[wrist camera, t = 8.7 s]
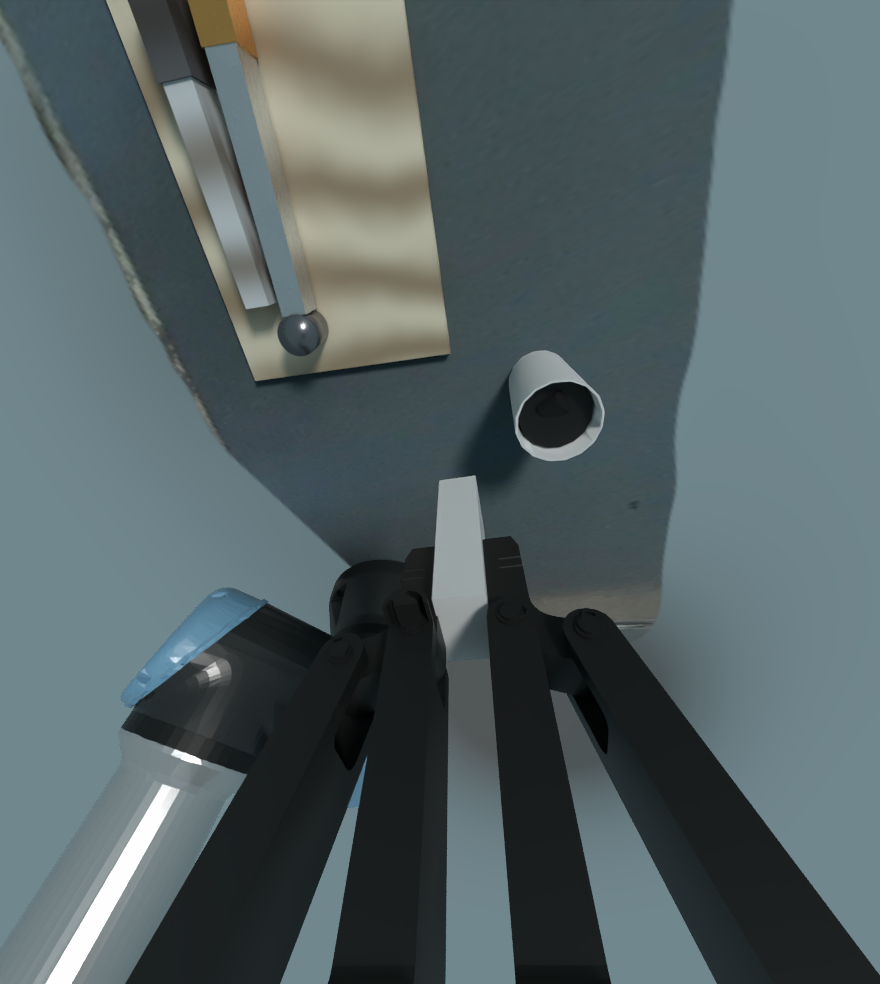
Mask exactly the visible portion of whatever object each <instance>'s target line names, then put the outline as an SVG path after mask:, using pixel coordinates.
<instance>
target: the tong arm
mask: <svg viewBox="0 0 880 984" xmlns="http://www.w3.org/2000/svg"><path fill="white" fill-rule="evenodd" d="M188 3H189V7H190V10H191V13H192V17H193V20H194V24H195V27H196V31H197V34H198V37H199V41H200V44H201V47H202V48H203V49H205V51H206V54H207V58H208V61H209V65H210V68H211V72H212V75H213V78H214V82H215V85H216V89H217V92H218V96H219V99H220V103H221V106H222V110H223V113H224V117H225V120H226V123H227V127H228V130H229V134H230V137H231V141H232V144H233V148H234V151H235V155H236V158H237V162H238V165H239V168H240V172H241V175H242V179H243V182H244V186H245V189H246V193H247V196H248V200H249V203H250V207H251V210H252V213H253V217H254V220H255V224H256V227H257V231H258V234H259V238H260V241H261V245H262V248H263V252H264V255H265V258H266V262H267V265H268V269H269V272H270V276H271V279H272V283H273V286H274V290H275V293H276V297H277V300H278V303H279V307H280V310H281V314H282V317H285V318H284V319H283V320H282V321H281V322H280V323H279V326H278V330H277V334H278V339H279V342H280V344H281V345H282V347H283V348H284V349H285V350H286V351H287V352H289V353H290V354H292V355H295V356H306V355H309V354H310V353H312V352H313V351H314V350H315V349H316V348H318V347H319V346H320V345H321V344H322V343H324V342H325V340H326V339H327V337H328V333H329V328H328V324H327V321H326V319H325V318H324V316H323V315H322V314H321V313H319V312H318V311H316V310H315V309H317V306H316V302H315V298H314V294H313V289H312V285H311V281H310V277H309V273H308V269H307V265H306V261H305V257H304V253H303V249H302V244H301V240H300V236H299V232H298V228H297V224H296V220H295V216H294V212H293V208H292V204H291V199H290V195H289V191H288V187H287V183H286V179H285V175H284V171H283V167H282V163H281V159H280V154H279V150H278V146H277V142H276V138H275V134H274V130H273V126H272V122H271V118H270V114H269V109H268V105H267V101H266V97H265V93H264V89H263V85H262V81H261V77H260V73H259V68H258V64H257V60H256V59H258V55H257V51H256V47H255V43H254V39H253V35H252V31H251V26H250V22H249V18H248V14H247V10H246V6H245V2H244V0H188ZM286 316H287V317H286Z"/></svg>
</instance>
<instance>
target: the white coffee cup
mask: <svg viewBox="0 0 880 984" xmlns="http://www.w3.org/2000/svg"><path fill="white" fill-rule="evenodd" d="M509 393H510V400H511V406H512V413H513V420H514V427H515V433H516V435H517V438H518V440H519V442H520V444H521V446H522V447H523V448H524V449H525V450H526V451H527V452H529V453H530V454H531V455H532V456H533V457H537V458H540V459H543V460H547V461H558V460H566V459H569V458H571V457H574V456H576V455H579V454H581V453H582V452H583V451H585V450H586V449H587V448H588V447H589V446H590V445H592V444H593V443H594V442H595V440H596V438H597V436H598V435H599V433H600V431H601V429H602V428H603V421H604V413H605V411H604V408H603V405H602V402H601V399H600V396H599V395H598V394H597V393H596V392H595V391H594V390H593V389H592V388H591V387H590V386H589V385H588V384H587V383H586V382H585V381H584V380H583V379H582V378H581V377H580V376H579V375H578V374H577V373H576V372H575V371H574V370H573V369H572V368H571V367H570V366H569V365H568V364H567V363H566V362H565V361H564V360H563V359H562V358H561V357H560V356H559V355H558V354H555V353H552V352H549V351H546V350H544V351H533V352H531V353H529V354H527V355H525V356H523V357H522V358H521V359H520V360H519V361H518V362H517V363H516V364H515V365H514V366H513V368H512V371H511V373H510V376H509Z"/></svg>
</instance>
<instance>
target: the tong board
mask: <svg viewBox="0 0 880 984" xmlns="http://www.w3.org/2000/svg"><path fill="white" fill-rule="evenodd" d="M106 1H107V4H108V7H109V9H110V12H111V14H112V17H113V19H114V22H115V24H116V27H117V29H118V32H119V35H120V37H121V40H122V42H123V45H124V47H125V50H126V52H127V55H128V58H129V60H130V63H131V65H132V68H133V70H134V73H135V75H136V78H137V80H138V83H139V86H140V88H141V91H142V93H143V96H144V98H145V101H146V103H147V106H148V109H149V111H150V114H151V116H152V119H153V121H154V124H155V126H156V129H157V132H158V134H159V137H160V139H161V142H162V144H163V147H164V149H165V152H166V154H167V157H168V160H169V162H170V165H171V167H172V170H173V172H174V175H175V177H176V180H177V183H178V185H179V188H180V190H181V193H182V195H183V198H184V200H185V203H186V206H187V208H188V211H189V213H190V216H191V218H192V221H193V223H194V226H195V228H196V231H197V234H198V236H199V239H200V241H201V244H202V246H203V249H204V251H205V254H206V257H207V259H208V262H209V264H210V267H211V269H212V272H213V274H214V277H215V279H216V282H217V285H218V287H219V290H220V292H221V295H222V297H223V300H224V302H225V305H226V308H227V310H228V313H229V315H230V318H231V320H232V323H233V325H234V328H235V331H236V333H237V336H238V338H239V341H240V343H241V346H242V348H243V351H244V353H245V356H246V359H247V361H248V364H249V366H250V369H251V371H252V374H253V376H254V379H255V381H260V380H267V379H274V378H281V377H288V376H295V375H302V374H310V373H317V372H324V371H331V370H338V369H345V368H352V367H359V366H367V365H374V364H381V363H388V362H395V361H402V360H409V359H416V358H423V357H431V356H438V355H445V354H450V352H451V351H450V343H449V335H448V328H447V320H446V313H445V305H444V297H443V290H442V282H441V275H440V267H439V259H438V252H437V244H436V237H435V229H434V222H433V214H432V206H431V199H430V191H429V184H428V176H427V168H426V161H425V153H424V146H423V138H422V130H421V123H420V115H419V108H418V100H417V93H416V85H415V77H414V70H413V62H412V55H411V47H410V39H409V32H408V24H407V17H406V9H405V1H404V0H244V2H245V6H246V10H247V14H248V18H249V22H250V26H251V31H252V35H253V39H254V43H255V47H256V51H257V55H258V59H256V60H257V64H258V68H259V73H260V77H261V81H262V85H263V89H264V93H265V97H266V101H267V105H268V109H269V114H270V118H271V122H272V126H273V130H274V134H275V138H276V142H277V146H278V150H279V154H280V159H281V163H282V167H283V171H284V175H285V179H286V183H287V187H288V191H289V195H290V199H291V204H292V208H293V212H294V216H295V220H296V224H297V228H298V232H299V236H300V240H301V244H302V249H303V253H304V257H305V261H306V265H307V269H308V273H309V277H310V281H311V285H312V289H313V294H314V298H315V302H316V306H317V309H315V310H316V311H318V312H319V313H321V314H322V315H323V316H324V318H325V319H326V321H327V324H328V328H329V333H328V337H327V339H326V340H325V342H324V343H322V344H321V345H320V346H319V347H318V348H316V349H315V350H314V351H313V352H312V353H310V354H309V355H306V356H295V355H292V354H290V353H289V352H287V351H286V350H285V349H284V348H283V347H282V345H281V344H280V342H279V339H278V334H277V330H278V326H279V323H280V322H281V321H282V320H283V319H284V318H285V317H282V314H281V310H280V307H279V303H278V300H277V297H276V293H275V290H274V286H273V283H272V279H271V276H270V272H269V269H268V265H267V262H266V258H265V255H264V252H263V248H262V245H261V241H260V238H259V234H258V231H257V227H256V224H255V220H254V217H253V213H252V210H251V207H250V203H249V200H248V196H247V193H246V189H245V186H244V182H243V179H242V175H241V172H240V168H239V165H238V162H237V158H236V155H235V151H234V148H233V144H232V141H231V137H230V134H229V130H228V127H227V123H226V120H225V117H224V113H223V110H222V106H221V103H220V99H219V96H218V92H217V89H216V85H215V82H214V78H213V75H212V72H211V68H210V65H209V61H208V58H207V54H206V51H205V49H203V48H202V47H201V44H200V41H199V37H198V34H197V31H196V27H195V24H194V20H193V17H192V13H191V10H190V7H189V3H188V0H106ZM286 317H287V316H286Z"/></svg>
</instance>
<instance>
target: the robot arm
mask: <svg viewBox="0 0 880 984" xmlns="http://www.w3.org/2000/svg"><path fill="white" fill-rule="evenodd" d="M329 612H330V629H331V630H330V631H331V635H329V634H327V633H325V632H323V631H321V630H319V629H317V628H315V627H313V626H311V625H309V624H307V623H306V622H304V621H301V620H300V619H298V618H296V617H294V616H291V615H290V614H288V613H286V612H284V611H282V610H280V609H278V608H276V607H274V606H272V605H270V604H268V601H266V600H265V599H263V600H260V599H257V598H255V597H253V596H250V595H248V594H246V593H244V592H241V591H239V590H237V589H234V588H221V589H218V590H215V591H214V592H212V593H211V594H209V595H208V596H207V597H206V598H205V599H204V600H203V601H202V602H201V603H200V604H199V605H198V606H197V607H196V609H195V610H194V611H193V612H192V613H191V614H190V615H189V616H188V617H187V619H185V620H184V622H183V623H182V624H181V625H180V626H179V627H178V628H177V629H176V631H174V633H173V634H172V635H171V636H170V637H169V638H168V639H167V640H166V642H165V643H164V644H163V645H162V646H161V648H160V649H159V650H158V651H157V652H156V653H155V654H154V655H153V657H152V658H151V659H150V660H149V661H148V662H147V664H146V665H145V666H144V667H143V669H142V670H141V671H140V672H139V673H138V675H137V676H136V677H135V678H134V679H133V680H132V681H131V682H130V683H129V685H128V686H127V687H126V688H125V690H124V691H123V692H122V694H121V701H123V702H124V703H125V706H126V707H129V708H131V707H132V706H135V707H134V709H133V711H132V712H131V714H130V715H129V716H128V718H127V719H126V721H125V722H124V724H123V725H122V727H121V728H120V730H119V731H118V736H119V742H120V748H121V754H122V757H121V764H120V766H119V767H118V769H117V770H116V772H115V773H114V775H113V776H112V778H111V779H110V781H109V783H108V784H107V786H106V787H105V789H104V790H103V792H102V793H101V795H100V796H99V798H98V799H97V801H96V803H95V804H94V806H93V807H92V809H91V810H90V812H89V813H88V815H87V816H86V818H85V819H84V821H83V823H82V824H81V826H80V827H79V829H78V830H77V832H76V833H75V835H74V836H73V838H72V839H71V841H70V842H69V844H68V845H67V847H66V849H65V850H64V852H63V853H62V855H61V857H60V858H59V859H58V861H57V863H56V864H55V866H54V867H53V869H52V870H51V872H50V873H49V875H48V877H47V878H46V879H45V881H44V883H43V884H42V886H41V887H40V889H39V890H38V892H37V893H36V895H35V896H34V898H33V899H32V901H31V903H30V904H29V905H28V907H27V908H26V910H25V912H24V913H23V915H22V916H21V918H20V919H19V921H18V922H17V924H16V925H15V927H14V928H13V930H12V932H11V933H10V935H9V936H8V938H7V939H6V941H5V942H4V944H3V945H2V947H1V948H0V984H280V982H281V980H282V977H283V975H284V972H285V970H286V967H287V964H288V961H289V959H290V956H291V954H292V951H293V949H294V946H295V943H296V941H297V938H298V936H299V933H300V930H301V928H302V925H303V922H304V920H305V917H306V914H307V912H308V909H309V906H310V904H311V902H312V899H313V896H314V894H315V891H316V888H317V886H318V883H319V880H320V878H321V875H322V873H323V870H324V868H325V865H326V862H327V860H328V857H329V854H330V852H331V849H332V846H333V844H334V841H335V839H336V836H337V833H338V831H339V828H340V826H341V823H342V820H343V818H344V815H345V813H346V810H347V808H351V807H352V808H353V807H359V808H358V815H357V820H356V827H355V833H354V838H353V844H352V851H351V856H350V862H349V868H348V875H347V881H346V886H345V893H344V898H343V904H342V910H341V917H340V922H339V929H338V934H337V941H336V946H335V952H334V959H333V964H332V969H331V975H330V979H329V982H328V984H445V969H446V877H447V783H448V691H449V678H448V673H447V669H446V655H447V658H448V661H449V662H450V661H461V660H472V659H482V658H483V659H484V658H490V667H491V679H492V691H493V704H494V715H495V728H496V741H497V753H498V766H499V778H500V790H501V803H502V816H503V828H504V839H505V851H506V852H505V853H506V865H507V878H508V891H509V902H510V915H511V928H512V940H513V953H514V965H515V980H516V984H611V981H610V977H609V972H608V968H607V964H606V958H605V953H604V949H603V944H602V939H601V934H600V930H599V925H598V919H597V915H596V910H595V905H594V900H593V895H592V891H591V886H590V881H589V876H588V871H587V867H586V862H585V857H584V852H583V847H582V842H581V838H580V833H579V828H578V824H577V818H576V814H575V809H574V804H573V799H572V794H571V790H570V785H569V780H568V775H567V770H566V765H565V761H564V756H563V751H562V746H561V741H560V736H559V732H558V727H557V722H556V718H555V713H554V708H553V703H552V698H551V693H550V689H551V690H555V691H559V692H563V693H567V696H568V697H569V699H570V701H571V703H572V705H573V707H574V709H575V711H576V713H577V715H578V717H579V719H580V721H581V722H582V724H583V726H584V728H585V730H586V732H587V734H588V736H589V738H590V740H591V742H592V743H593V746H594V748H595V749H596V751H597V753H598V755H599V757H600V759H601V761H602V763H603V765H604V766H605V769H606V771H607V772H608V774H609V776H610V778H611V780H612V782H613V784H614V786H615V788H616V790H617V792H618V794H619V796H620V798H621V800H622V801H623V803H624V805H625V807H626V809H627V811H628V813H629V815H630V817H631V818H632V821H633V823H634V825H635V827H636V828H637V830H638V832H639V834H640V836H641V838H642V840H643V842H644V844H645V846H646V848H647V850H648V852H649V854H650V855H651V857H652V859H653V861H654V863H655V865H656V867H657V869H658V871H659V873H660V875H661V877H662V878H663V881H664V882H665V884H666V886H667V888H668V890H669V892H670V894H671V896H672V898H673V900H674V901H675V904H676V905H677V907H678V909H679V911H680V913H681V915H682V917H683V919H684V921H685V923H686V925H687V927H688V929H689V931H690V932H691V934H692V936H693V938H694V940H695V942H696V944H697V946H698V948H699V950H700V952H701V954H702V956H703V958H704V960H705V961H706V963H707V965H708V967H709V969H710V971H711V973H712V975H713V977H714V979H715V981H716V983H717V984H880V975H879V974H878V972H877V971H876V970H875V968H874V967H873V966H872V964H871V963H870V962H869V961H868V959H867V958H866V957H865V955H864V954H863V953H862V951H861V950H860V949H859V947H858V946H857V945H856V943H855V942H854V941H853V939H852V938H851V937H850V935H849V934H848V933H847V931H846V930H845V929H844V928H843V926H842V925H841V923H840V922H839V921H838V919H837V918H836V917H835V915H834V914H833V913H832V911H831V910H830V909H829V907H828V906H827V905H826V903H825V902H824V901H823V900H822V898H821V897H820V895H819V894H818V893H817V891H816V890H815V889H814V888H813V886H812V885H811V884H810V882H809V881H808V880H807V878H806V877H805V876H804V874H803V873H802V872H801V870H800V869H799V868H798V866H797V865H796V864H795V862H794V861H793V860H792V858H791V857H790V856H789V854H788V853H787V852H786V850H785V849H784V848H783V846H782V845H781V844H780V842H779V841H778V840H777V838H776V837H775V836H774V834H773V833H772V832H771V831H770V829H769V828H768V826H767V825H766V824H765V822H764V821H763V820H762V818H761V817H760V816H759V814H758V813H757V812H756V810H755V809H754V808H753V806H752V805H751V804H750V802H749V801H748V800H747V799H746V797H745V796H744V795H743V793H742V792H741V791H740V789H739V788H738V787H737V785H736V784H735V783H734V781H733V780H732V779H731V777H730V776H729V775H728V773H727V772H726V771H725V769H724V768H723V767H722V765H721V764H720V763H719V761H718V760H717V759H716V757H715V756H714V755H713V753H712V752H711V751H710V749H709V748H708V747H707V745H706V744H705V743H704V741H703V740H702V739H701V737H700V736H699V735H698V733H696V731H695V730H694V728H693V727H692V725H691V724H690V723H689V722H688V720H687V719H686V718H685V716H684V715H683V714H682V712H681V711H680V710H679V708H678V707H677V706H676V704H675V703H674V702H673V700H672V699H671V698H670V696H669V695H668V694H667V692H666V691H665V690H664V688H663V687H662V686H661V684H660V683H659V682H658V680H657V679H656V678H655V676H654V675H653V674H652V673H651V671H650V670H649V669H648V667H647V666H646V664H645V663H644V662H643V660H642V659H641V658H640V656H639V655H638V654H637V652H636V651H635V650H634V649H633V647H632V646H631V644H630V643H629V642H628V641H627V639H626V638H625V637H624V635H623V634H622V633H621V631H620V630H619V629H618V627H617V626H616V625H615V623H614V622H613V621H612V620H611V619H610V618H609V617H608V616H607V615H606V614H604V613H602V612H600V611H598V610H595V609H588V608H583V609H576V610H574V611H572V612H570V613H569V614H568V615H567V616H566V617H565V618H562V617H556V616H551V615H548V614H545V613H543V612H541V611H539V610H538V609H537V608H535V607H534V605H533V604H532V603H531V601H530V598H529V595H528V590H527V585H526V580H525V575H524V570H523V566H522V561H521V556H520V551H519V546H518V544H517V543H516V542H515V541H514V540H513V539H512V537H511V536H507V537H499V538H491V539H485V536H484V527H483V521H482V514H481V508H480V501H479V495H478V488H477V482H476V476H468V477H461V478H454V479H447V480H440V481H439V494H438V509H437V525H436V541H435V546H434V547H426V548H417V549H412V551H411V552H410V554H409V555H408V557H407V558H406V560H405V563H401V562H397V561H390V560H373V561H367V562H363V563H359V564H357V565H354V566H352V567H351V568H349V569H347V570H346V571H345V572H343V573H342V574H341V575H340V577H339V578H338V580H337V581H336V583H335V585H334V588H333V591H332V594H331V597H330V602H329ZM235 792H237V793H236V795H235V796H234V798H233V800H232V801H231V803H230V805H229V807H228V808H227V810H226V812H225V814H224V815H223V817H222V819H221V820H220V822H219V824H218V825H217V827H216V829H215V831H214V832H213V834H212V836H211V838H210V839H209V841H208V843H207V845H206V846H205V848H204V850H203V851H202V853H201V855H200V856H199V858H198V860H197V861H196V859H197V857H198V855H199V853H200V851H201V849H202V847H203V845H204V843H205V841H206V839H207V837H208V835H209V833H210V831H211V829H212V827H213V825H214V823H215V821H216V819H217V817H218V815H219V812H220V810H221V809H222V807H223V805H224V802H225V801H226V799H228V798H229V797H230V796H231V795H232V794H233V793H235ZM195 861H196V863H195ZM194 863H195V865H194ZM193 865H194V867H193ZM192 867H193V868H192ZM191 869H192V870H191ZM190 871H191V872H190Z"/></svg>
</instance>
